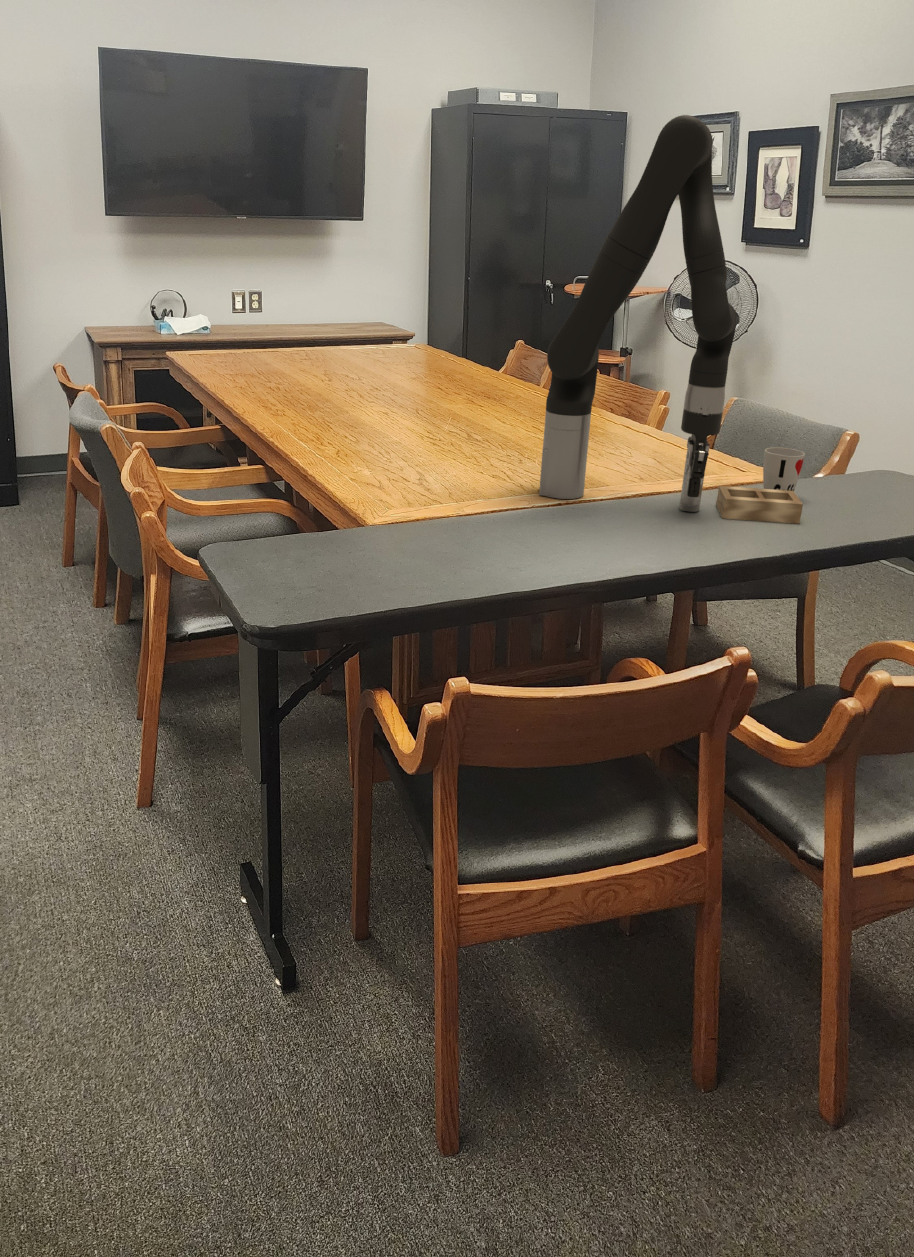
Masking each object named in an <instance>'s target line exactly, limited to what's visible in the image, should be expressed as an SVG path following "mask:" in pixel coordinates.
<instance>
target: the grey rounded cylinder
mask: <svg viewBox="0 0 914 1257" xmlns="http://www.w3.org/2000/svg"><path fill="white" fill-rule="evenodd" d="M692 462H693V461H692ZM695 471H696V472H700V468H695ZM689 474H690V466H689V465H688V458H687V459H686V458H685V463H684V470H683V475H682V476H683V477H682V484H681V492H680V500H679V507H678V508H679V510H681V511H684V512H689V513H691V512H692V513H694V512H699V511H700V509H701V508H700V507H701V501H702V493H703V487H704V481H705V477H704V478H702V479H701V483H700V490H699V496H698V497H688V495H687V491H688V484H689ZM704 474H705V473H704Z"/></svg>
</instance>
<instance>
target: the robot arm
mask: <svg viewBox="0 0 914 1257" xmlns="http://www.w3.org/2000/svg"><path fill="white" fill-rule="evenodd" d="M709 128H710V127H708V126H707V124H705V123H704V121H702V120H701V119H699V118H698V117H695V116H694V115H689V114H682V115H678V116H676V117H674V118H672V119H670V120H669V121H668V122H667V123H666V124H665V125H664V126H663V127H662V129H661V131H660V132H659V133H658V136H657V139H656V140H655V143H654V145H653V146H654V147H653V149H652V152H651V154H650V156H649V159H648V161H647V163H646V166H645V168H644V171H643V173H642V175H641V178H640V179H639V182H638V184H637V186H636V187H635V189H634V191H633V193H632V195H630V198H629V199H628V200H627V202H626V204H625V205H624V207H623V209H622V210H621V212H620V213H619V215H618V217H617V219H616V220H615V222H614V224H613V226H612V227H611V229H610V231H609V233H608V235H607V237H606V239H605V240H604V242H603V245H602V246H601V248H600V250H599V252H598V254H597V257H596V259H595V261H594V263H593V265H592V267H591V270H590V272H589V274H588V276H587V278H586V280H585V282H584V285H583V287H582V290H581V292H580V294H579V297H578V300H577V301H576V303H575V305H574V306H573V308H572V310H571V312H570V313H569V314H568V317H567V318H566V320H565V321H564V322H563V324H562V326H561V328H560V329H559V330H558V332H557V333H556V334H555V336H554V337H553V339H552V340H551V342H550V343H549V345H548V348H547V352H546V353H547V354H546V359H547V360H546V361H547V365H548V368H549V370H550V372H551V378H550V379H551V380H550V386H549V390H548V393H547V396H546V400H545V401H546V403H545V417H544V431H543V443H542V453H541V454H542V455H541V466H540V477H539V478H540V479H539V480H540V481H539V493H538V496H543V497H548V498H553V499H561V500H572V499H574V500H575V499H579V498H582V497H583V496H584V492H585V486H586V485H585V484H586V483H585V482H586V472H587V461H588V449H589V440H590V428H591V418H592V417H591V416H592V409H593V408H592V407H593V401H594V398H595V395H596V385H597V376H598V368H599V361H600V360H599V358H600V357H599V356H600V351H599V343H600V341H601V340H602V337H603V335H604V333H605V330H606V329H607V327H608V326H609V323H610V322H611V320H612V318H613V317H614V315H615V314H616V313H617V312H618V310H619V309H620V308H621V306H622V305H623V304H624V302H625V301H626V300H627V299H628V298H629V296H630V294H632V292H633V290H634V289H635V287H636V286H637V284H638V283H639V281H640V279H641V277H643V274H644V272H645V270H646V269H647V267H648V265H649V263H650V262H651V259H652V258H653V256H654V253H655V251H656V250H657V247H658V245H659V242H660V239H661V238H662V235H663V231H664V229H665V225H666V223H667V219H668V216H669V214H670V212H671V209H672V206H673V204H674V203H675V200H676V199H677V197H678V199H679V205H680V213H681V230H682V231H681V232H682V233H681V234H682V245H683V255H684V259H685V265H686V271H687V276H688V277H687V278H688V281H689V286H690V301H691V315H692V316H691V317H692V324H693V326H694V330H695V332H696V334H697V342H696V350H695V352H694V354H693V356H692V358H691V359H692V360H691V361H690V362H691V363H690V368H689V376H688V383H687V388H686V391H685V395H684V396H685V397H684V404H683V409H682V410H683V411H682V416H681V417H682V419H681V426H680V429H681V431H682V432H683V433H685V434H689V435H691V436H688V438H687V441H686V448H687V450H686V455H685V460H686V459H687V458H688V465H689V466H690V474H689V484H688V491H687V495H688V497H698V496H699V490H700V483H701V479H702V478H704V479H705V474H704V473H705V472H706V468H707V462H708V458H709V452H710V443H709V441H708V438H709V436H717V435H719V433H720V432H721V427H722V426H721V425H722V421H723V414H724V412H723V411H724V408H725V407H724V405H725V399H726V398H725V397H726V396H725V395H726V393H725V392H726V384H727V375H728V369H729V368H728V367H729V357H730V354H731V351H732V346H733V343H734V338H735V335H736V334H735V333H736V328H737V323H738V322H737V318H738V317H737V313H736V309H735V308H734V306H733V305H732V304H731V303H729V298H728V293H727V292H728V291H727V285H726V283H727V280H728V270H727V263H726V258H725V252H724V245H723V240H722V236H721V230H720V225H719V221H718V214H717V209H716V203H715V197H714V196H715V195H714V188H713V158H712V157H713V143H714V142H713V135H712V133H711V130H710V129H709ZM692 461H693V462H692ZM695 468H700V472H696V471H695Z"/></svg>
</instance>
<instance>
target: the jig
mask: <svg viewBox="0 0 914 1257" xmlns="http://www.w3.org/2000/svg"><path fill="white" fill-rule="evenodd" d="M803 505H804V503H803V502H802V501H801V499H800V497H799V496H798V495H797V494H796V492H795V490H794V491H788V490H773V489H764V488H756V487H744V486H743V487H742V486H727V485H718V489H717V496H716V505H715V506H716V507H717V510H718V511H719V514H720V516H721V519H724V520H725V519H728V520H740V521H741V520H742V521H755V522H769V523H781V524H782V523H785V524H797V525H799V524H800V523H801V517H802V511H803Z"/></svg>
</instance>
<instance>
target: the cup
mask: <svg viewBox="0 0 914 1257" xmlns="http://www.w3.org/2000/svg"><path fill="white" fill-rule="evenodd" d="M805 456H806V453H805V452H804V451H801V450H799V449H798V450H797V449H794V448H788V447H767V448H765V449H764V457H763V468H762V473H763V474H762V475H763V476H762V477H763V478H762V479H763V481H762V482H763V484H762V485H763V489H773V490H788V491H794V492H795V489H796V487H797V485H798V481H799V479H800V475H801V473H802V467H803V464H804V460H805Z"/></svg>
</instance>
